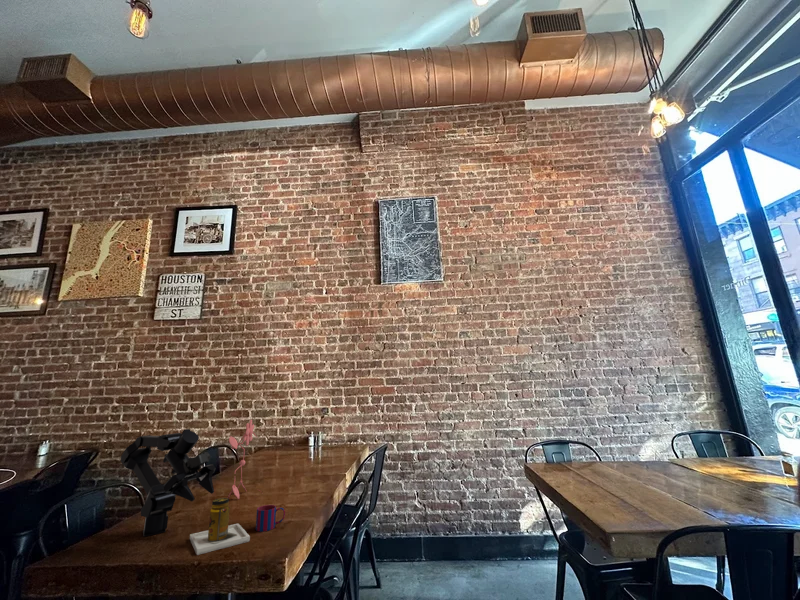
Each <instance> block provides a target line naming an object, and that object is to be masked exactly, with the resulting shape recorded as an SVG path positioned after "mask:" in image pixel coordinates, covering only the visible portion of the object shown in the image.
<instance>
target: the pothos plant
mask: <svg viewBox="0 0 800 600" xmlns="http://www.w3.org/2000/svg"><path fill="white" fill-rule="evenodd" d="M254 428H255V424H254V423H253V419H250V420H249V422H247V423H246V425H245V433H244V434H243V436H242V437H241V439H240V440H239V442H238V441H237V439H236V438H235V437H234V436H232V435H229V438H228V443H229V444H230V446H231V449H232V451H233V450H234V449H235V450H237V449H238V446H239V447H240V448H241V449H242V450H243V456H242V457H243V458H242V459H241V460H239V466H238V467H237V468H236V469H235V470H234V473H236V471H238V469H239V468H240V478H241V479H240V480H239V484H238V486H236V477H233V480H234V482H233V483H234V484H232V485H231V491H230V492H229V494H228V496H227V498H228V499H229V498H230V496H231V495H232V492H233V494H234V496H235V498H237V500H240V492H239V488H240V486H242V487H243V490H244V491H245V492H246V493H247V492H248V491H247V489H246V487H245V485H244V484H243V469H242V467H243V466H245V465H246V460H245V453H246V449H245V448H244V447H243V446H242V445H243V444H244V442H245V446H246V447H247V446H249V444H250V442H252V441H253V435H254V436H255V438H256V439H258V438H259V437H258V436H257V435H256V433H255V432H254ZM258 491H260V492H261V493H263V491H261V490H260V489H258ZM256 498H257V496H255V497H254V499H256Z"/></svg>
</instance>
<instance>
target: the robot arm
mask: <svg viewBox="0 0 800 600" xmlns="http://www.w3.org/2000/svg"><path fill="white" fill-rule="evenodd" d="M199 439H200V436H199V434H197V433H196V432H194V431H192V430H191V429H190V428H187V429H183V430H182V432H177V433H176V432H175V433H168V434H161V435H152V434H151V435H150V434H148V435H141V436H137V438H136V439H135V440H134V441H133V442H132V443H131V444H129V445H128V446H127V447H126V448H125V449H124V451H123V453H122V454H121V456H120V462H121V464H122V465H123V466H124V468H126V469H127V470H131V471H133V472H134V474H135V476H136V478H137V480H138V481H139V483H140V485H141V486H142V488H143V490H144V492H145V493H146V499H145V502H144V504H143V506H142V507H141V508H140V516H141V517H144V518H145V519H144V520H145V521H144V527H143V530H142V533H143V535H142V536H143V537H149V536H155V535H158V534H163V533H166V529H167V528H168V522H169V521H168V520H169V515H168V512H171V511H172V510H173V508H174V506H175V505H174V504H175V503H176V496H178V497H181V498H183V499H184V500H187V501H190V502H194V501H195V500H196V499H195V496H194V493H193V492H192V490H191V489H190V486H189V483H188V482H190V481H192V480H196V481H197V482H198V485H199V486H201V487H202V488H203V489H205V490H206V491H207V492H208V493H210V494H212V495H213V494H214V493H215V489H214V484H213V474H214V473H215V471H216V469H217V468H216V466H215V465H214V464H207V463H209V462H210V460H211V454H210V453H209V452H208V451H205V452H203V453H200V454H198V455H196V456H194V457H189V455H188V454H189V453H190V452H191V451H192V449H193V448H194V447H195V445H197V442H198V441H199ZM152 448H156V450H158V451H161V452H166V451H168V452H167V453H165V454H164V457H163V458H162V459H163V461H162V462H163V463H167V462H168V463H169V465H170V466H171V468H172V469H173V470H171V473H172V476H170V478H169V479H168V480H166V482H165V483H163V484H162V483H161V481H160V480H159V478H158V477H157V475H156V473H155V472H154V470H153V469H152V467H151V465H150V464H149V462H148V460H149V457H150V454H151V453H152ZM204 464H207V465H204ZM202 465H204V466H203V467H202Z"/></svg>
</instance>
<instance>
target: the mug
mask: <svg viewBox="0 0 800 600" xmlns="http://www.w3.org/2000/svg"><path fill="white" fill-rule="evenodd" d="M279 510H282V511H283V517H282V519H280V520H277V521H276V517H277V512H278V511H279ZM255 516H256V519H255V520H256V521H255V530H256V531H257V532H262V533H263V532H269V531H271V530H273V529H275V527H276V525H277V524H280V523H282V522H283V520H284V519H285V516H286V511H285V508H283V507H278V508H277V506H276V505H275V504H265V505H261V506H259V507H257V508H256V515H255Z"/></svg>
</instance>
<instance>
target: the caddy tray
mask: <svg viewBox="0 0 800 600" xmlns="http://www.w3.org/2000/svg"><path fill="white" fill-rule="evenodd" d="M208 530H209V529H208ZM208 530H203V531H200V532H195V533H191V534H189V542H190V544H191V545H192V547H193V550H194V552H195V555H196V556H199V555H203V554H207V553H211V552H214V551H218V550H219V551H220V550H221V549H225V548H230V547H232V546H233V547H234V546H237V545H241V544H244V543H250V540H251V535H249V533H247V531H246V530H245V529H244V528H243V527H242V525H240V523H234V524H230V525H229V524H228V532H230V533H234V534H237V535H235V536H233V537H230V538H228V539H226V540H224V541H221V542H218V543H215V544H214V543H210V542H207V541H204V540H202V539H206V538H208Z"/></svg>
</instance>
